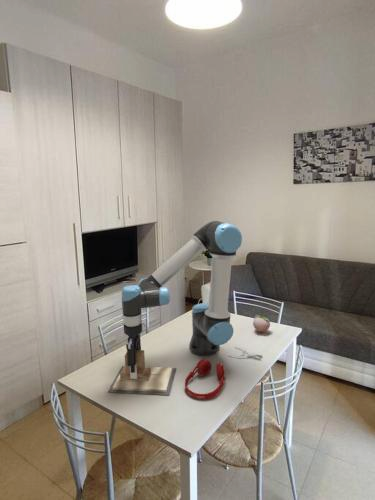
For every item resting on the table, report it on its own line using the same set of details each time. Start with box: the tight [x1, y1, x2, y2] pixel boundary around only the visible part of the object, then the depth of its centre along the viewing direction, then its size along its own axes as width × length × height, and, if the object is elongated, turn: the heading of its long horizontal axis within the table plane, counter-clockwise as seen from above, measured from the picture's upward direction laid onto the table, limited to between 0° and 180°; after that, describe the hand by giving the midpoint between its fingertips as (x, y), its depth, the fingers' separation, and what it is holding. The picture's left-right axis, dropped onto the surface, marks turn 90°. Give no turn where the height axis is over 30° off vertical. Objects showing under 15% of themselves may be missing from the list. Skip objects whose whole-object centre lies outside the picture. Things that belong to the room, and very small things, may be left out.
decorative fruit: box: [252, 315, 271, 333], centre depth 181 cm, size 9×8×10 cm
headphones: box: [184, 358, 226, 401], centre depth 135 cm, size 15×7×20 cm
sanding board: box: [107, 365, 177, 397], centre depth 140 cm, size 25×19×2 cm
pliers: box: [227, 346, 263, 361], centre depth 158 cm, size 10×2×15 cm
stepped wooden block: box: [120, 349, 151, 381], centre depth 139 cm, size 12×5×11 cm, turn 84°
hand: (135, 374), depth 140 cm, fingers closed on stepped wooden block, 5 cm apart
